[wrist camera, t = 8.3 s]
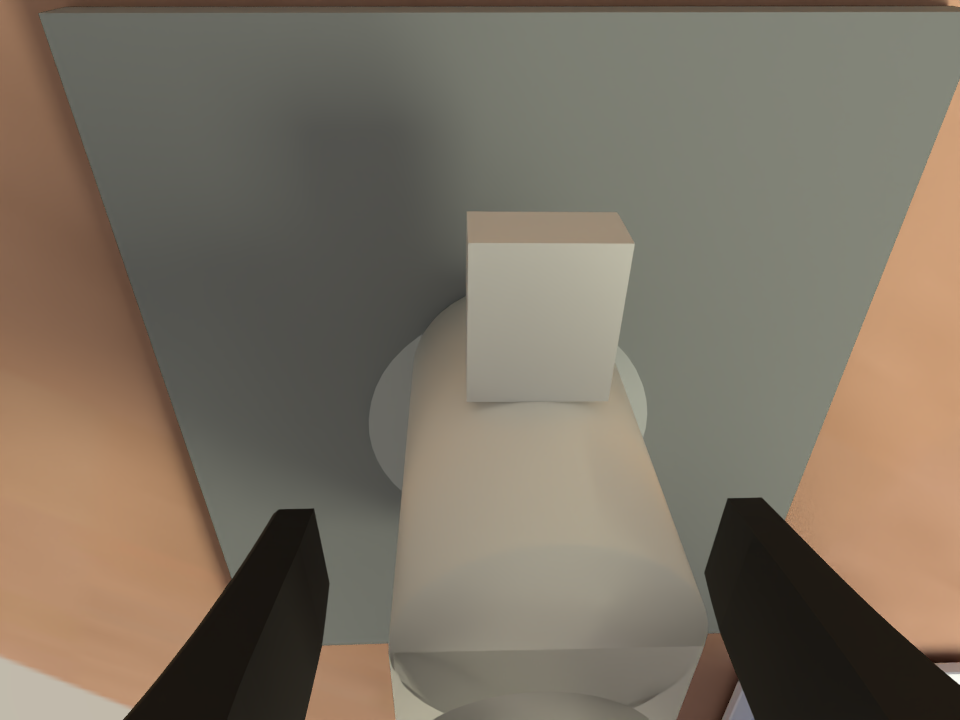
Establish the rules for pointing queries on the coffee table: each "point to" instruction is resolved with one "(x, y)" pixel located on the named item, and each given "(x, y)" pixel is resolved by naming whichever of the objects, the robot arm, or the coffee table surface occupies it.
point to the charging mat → (495, 188)
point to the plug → (536, 497)
